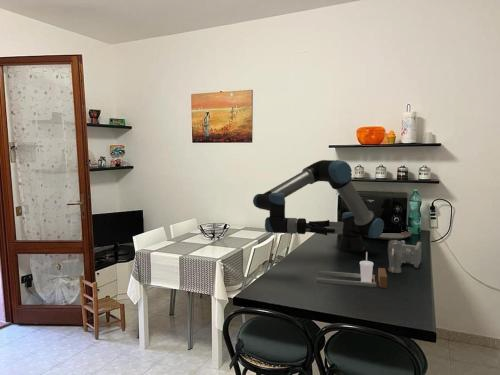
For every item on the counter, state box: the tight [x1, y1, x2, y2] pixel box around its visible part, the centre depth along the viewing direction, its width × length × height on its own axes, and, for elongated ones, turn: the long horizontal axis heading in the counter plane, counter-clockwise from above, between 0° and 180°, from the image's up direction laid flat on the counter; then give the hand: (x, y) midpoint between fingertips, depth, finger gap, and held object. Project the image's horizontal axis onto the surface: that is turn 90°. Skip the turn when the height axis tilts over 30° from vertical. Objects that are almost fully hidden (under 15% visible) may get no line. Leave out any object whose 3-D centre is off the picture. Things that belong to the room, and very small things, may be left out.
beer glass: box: [387, 240, 403, 274], centre depth 181 cm, size 7×7×15 cm
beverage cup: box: [359, 251, 374, 282], centre depth 168 cm, size 6×6×14 cm
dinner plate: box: [377, 230, 411, 241], centre depth 251 cm, size 27×27×3 cm
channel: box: [316, 267, 388, 289], centre depth 170 cm, size 30×12×5 cm, turn 74°
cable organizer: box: [400, 239, 422, 269], centre depth 191 cm, size 15×11×12 cm
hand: (343, 227), depth 169 cm, fingers open, 13 cm apart
